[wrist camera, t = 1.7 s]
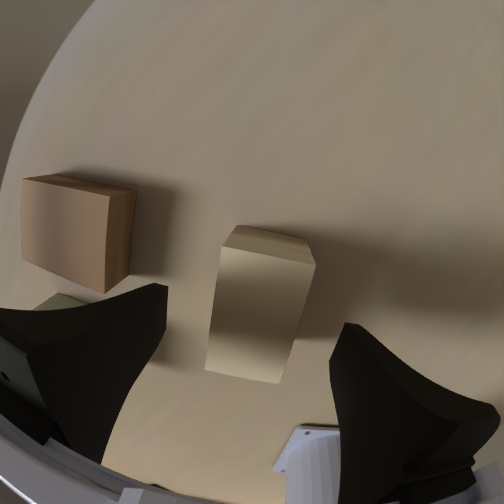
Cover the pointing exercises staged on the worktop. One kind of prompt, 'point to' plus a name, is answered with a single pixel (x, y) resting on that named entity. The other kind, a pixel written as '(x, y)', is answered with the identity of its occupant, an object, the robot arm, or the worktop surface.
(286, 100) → the worktop surface
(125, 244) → the walnut slab
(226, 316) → the maple brick
